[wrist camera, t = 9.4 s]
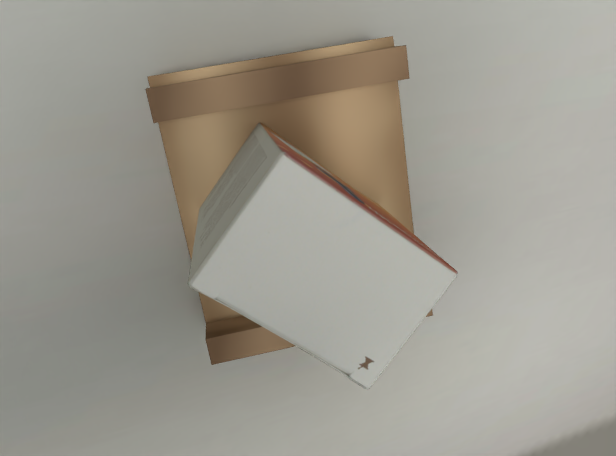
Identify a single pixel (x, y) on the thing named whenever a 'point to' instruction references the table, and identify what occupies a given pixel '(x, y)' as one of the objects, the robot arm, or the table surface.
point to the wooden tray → (291, 126)
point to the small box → (313, 259)
